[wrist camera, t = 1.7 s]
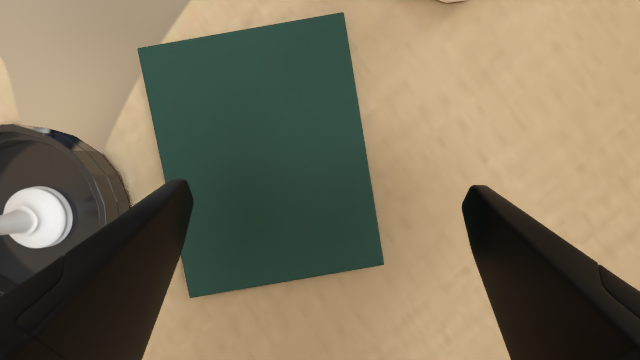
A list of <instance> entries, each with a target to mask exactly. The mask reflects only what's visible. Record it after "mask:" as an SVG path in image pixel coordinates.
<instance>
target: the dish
mask: <svg viewBox="0 0 640 360" xmlns="http://www.w3.org/2000/svg"><path fill="white" fill-rule="evenodd" d="M35 186H44V187H49V188H52V189H54V190H56V191H57V192H59V193H60V194H61V195H63V196H64V198H65V199H66V200H67V201H68V203H69V205H70V207H71V210H72V215H73V222H72V227H71V230H70V232H69V234H68V235H67V236H66V237H65V239H64V240H62V241H61V242H60V243H58V244H56V245H53V246H50V247H44V248H29V247H26V246H23V245H21V244H19V243H18V242H16V241H15V240H14V239H13V238H12V237H11V236H10V235H9V234H6V235H0V296H1V295H3V294H5V293H6V292H8V291H9V290H11V289H13V288H14V287H16V286H17V285H19V284H20V283H22V282H24V281H25V280H27V279H28V278H30V277H31V276H33V275H34V274H36V273H37V272H39V271H40V270H42V269H43V268H45V267H46V266H48V265H49V264H50V263H52V262H53V261H55V260H56V259H58V258H59V257H61V256H62V255H64V256H65V253H66V252H68V251H69V250H71V249H72V248H74V247H75V246H76V245H78V244H79V243H81V242H82V241H84V240H85V239H87V238H88V237H89V236H91V235H92V234H94V233H95V232H97V231H98V230H99V229H101V228H102V227H104V226H105V225H107V224H108V223H110V222H111V221H112V220H114V219H115V218H117V217H118V216H120V215H121V214H122V213H124V212H125V211H127V210H128V209H129V201H128V198H127V196H126V193H125V191H124V188H123V186H122V183H121V181H120V179H119V176H118V175H117V173H116V171H115V170H114V169H113V168H112V167H111V165H110V164H109V163H108V162H107V161H106V159H105V158H104V157H103V156H102V155H101V153H100V152H98V151H97V150H95V149H94V148H92V147H91V146H89V145H88V144H86V143H84V142H83V141H82V140H80V139H79V138H77V137H75V136H73V135H69V134H66V133H62V132H59V131H55V130H52V129H48V128H41V127H32V126H24V125H15V124H5V125H0V215H3V212H4V208H5V205H6V203H7V201H8V200H9V199H10V198H11V196H13V195H14V194H15V193H17V192H18V191H20V190H23V189H26V188H30V187H35Z"/></svg>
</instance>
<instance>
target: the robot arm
mask: <svg viewBox="0 0 640 360" xmlns="http://www.w3.org/2000/svg"><path fill="white" fill-rule="evenodd" d="M193 204H194V199H193V196H192V193H191V190H190V187H189V184H188V182H187V181H186V180H185V179H172V180H170V181H168V182H167V183H166V184H164V185H163V186H161V187H160V188H158V189H157V190H155V191H154V192H153V193H151V194H150V195H148V196H147V197H145V198H144V199H143V200H141V201H140V202H138V203H137V204H135V205H134V206H133V207H131V208H130V209H128V210H127V211H125V212H124V213H122V214H121V215H120V216H118V217H117V218H115V219H114V220H112V221H111V222H110V223H108V224H107V225H105V226H104V227H102V228H101V229H99V230H98V231H97V232H95V233H94V234H92V235H91V236H89V237H88V238H87V239H85V240H84V241H82V242H81V243H79V244H78V245H76V246H75V247H74V248H72V249H71V250H69V251H68V252H66V253H65V256H64V255H62V256H61V257H59V258H58V259H56V260H55V261H53V262H52V263H50V264H49V265H48V266H46V267H45V268H43V269H42V270H40V271H39V272H37V273H36V274H34V275H33V276H31V277H30V278H28V279H27V280H25V281H24V282H22V283H20V284H19V285H17V286H16V287H14V288H13V289H11V290H9V291H8V292H6V293H5V294H3V295H1V296H0V360H142V358H143V355H144V352H145V349H146V347H147V344H148V341H149V339H150V336H151V333H152V330H153V328H154V325H155V322H156V320H157V317H158V314H159V312H160V309H161V306H162V303H163V301H164V298H165V295H166V293H167V290H168V287H169V285H170V282H171V279H172V276H173V274H174V271H175V268H176V266H177V263H178V260H179V258H180V255H181V252H182V249H183V246H184V242H185V238H186V234H187V230H188V226H189V221H190V217H191V213H192V209H193ZM462 212H463V216H464V221H465V225H466V229H467V233H468V238H469V242H470V246H471V250H472V253H473V256H474V259H475V262H476V265H477V267H478V270H479V273H480V276H481V278H482V281H483V284H484V287H485V289H486V292H487V295H488V298H489V300H490V303H491V306H492V309H493V311H494V314H495V317H496V320H497V323H498V325H499V328H500V331H501V334H502V336H503V339H504V342H505V345H506V347H507V350H508V353H509V356H510V358H511V360H640V291H638V290H637V289H635V288H634V287H632V286H631V285H629V284H628V283H626V282H625V281H623V280H622V279H620V278H619V277H617V276H616V275H614V274H613V273H612V272H610V271H609V270H607V269H606V268H604V267H603V266H601V265H598V263H597V262H596V261H594V260H593V259H591V258H590V257H588V256H587V255H586V254H584V253H583V252H581V251H580V250H578V249H577V248H575V247H574V246H573V245H571V244H570V243H568V242H567V241H565V240H564V239H562V238H561V237H560V236H558V235H557V234H555V233H554V232H552V231H551V230H549V229H548V228H547V227H545V226H544V225H542V224H541V223H539V222H538V221H536V220H535V219H534V218H532V217H531V216H529V215H528V214H526V213H525V212H524V211H522V210H521V209H519V208H518V207H516V206H515V205H513V204H512V203H511V202H509V201H508V200H506V199H505V198H503V197H502V196H500V195H499V194H498V193H496V192H495V191H493V190H492V189H490V188H489V187H487V186H485V185H473V186H471V187H470V188H469V190H468V193H467V195H466V197H465V199H464V201H463V203H462Z"/></svg>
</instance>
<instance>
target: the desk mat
mask: <svg viewBox="0 0 640 360" xmlns="http://www.w3.org/2000/svg"><path fill="white" fill-rule="evenodd" d="M138 53H139V58H140V63H141V68H142V73H143V77H144V82H145V87H146V92H147V96H148V101H149V106H150V111H151V115H152V120H153V125H154V130H155V134H156V139H157V144H158V149H159V153H160V158H161V163H162V168H163V172H164V177H165V182H166V183H167V182H168V181H170V180H172V179H185V180H186V181H187V182H188V184H189V187H190V190H191V193H192V196H193V199H194V204H193V209H192V213H191V217H190V221H189V226H188V230H187V234H186V238H185V242H184V246H183V249H182V252H181V258H182V262H183V267H184V272H185V277H186V281H187V286H188V291H189V296H190V298H192V297H198V296H204V295H210V294H216V293H221V292H227V291H233V290H239V289H245V288H251V287H256V286H262V285H268V284H274V283H280V282H286V281H291V280H297V279H303V278H309V277H315V276H321V275H326V274H332V273H338V272H344V271H350V270H356V269H361V268H367V267H373V266H379V265H384V261H383V255H382V248H381V242H380V236H379V230H378V223H377V217H376V211H375V205H374V199H373V192H372V186H371V180H370V174H369V168H368V161H367V155H366V149H365V143H364V136H363V130H362V124H361V118H360V112H359V105H358V99H357V93H356V87H355V81H354V74H353V68H352V62H351V56H350V49H349V43H348V37H347V31H346V25H345V18H344V13H343V12H342V13H337V14H331V15H325V16H320V17H314V18H308V19H302V20H297V21H291V22H285V23H280V24H274V25H268V26H262V27H257V28H251V29H245V30H240V31H234V32H228V33H222V34H217V35H211V36H205V37H200V38H194V39H188V40H182V41H177V42H171V43H165V44H160V45H154V46H148V47H142V48H138Z"/></svg>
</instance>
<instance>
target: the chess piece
mask: <svg viewBox="0 0 640 360" xmlns="http://www.w3.org/2000/svg"><path fill="white" fill-rule="evenodd" d="M72 222H73V215H72V210H71V207H70V205H69V203H68V201H67V200H66V199H65V198H64V196H63V195H61V194H60V193H59V192H57V191H56V190H54V189H52V188H49V187H44V186H35V187H30V188H26V189H23V190H20V191H18V192H17V193H15V194H14V195H13V196H11V198H10V199H9V200H8V201H7V203H6V205H5V208H4V212H3V215H0V235H6V234H9V235H10V236H11V237H12V238H13V239H14V240H15V241H16V242H18V243H19V244H21V245H23V246H26V247H29V248H44V247H50V246H53V245H56V244H58V243H60V242H61V241H62V240H64V239H65V237H66V236H67V235H68V234H69V232H70V230H71V227H72Z"/></svg>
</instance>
